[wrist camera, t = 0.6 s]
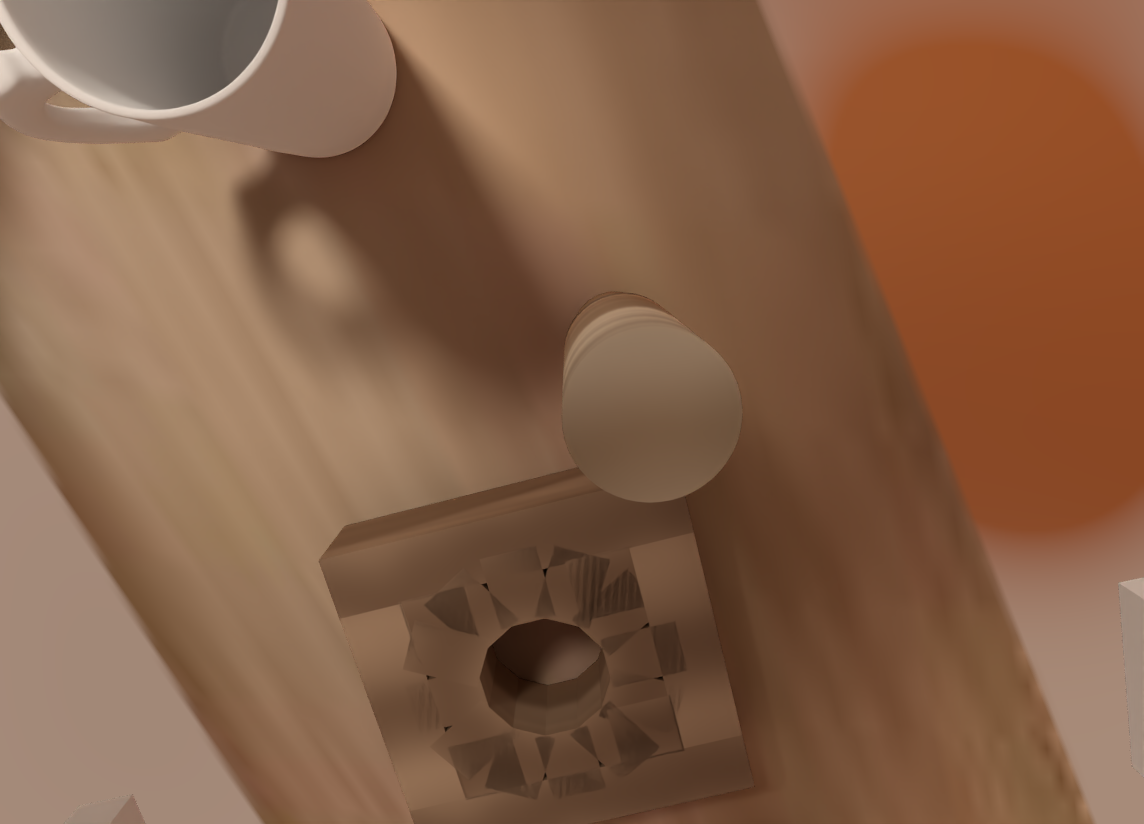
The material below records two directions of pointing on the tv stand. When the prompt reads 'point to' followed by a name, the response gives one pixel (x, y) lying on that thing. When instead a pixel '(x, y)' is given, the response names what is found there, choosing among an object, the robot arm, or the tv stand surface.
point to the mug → (199, 71)
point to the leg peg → (645, 400)
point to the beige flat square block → (524, 708)
